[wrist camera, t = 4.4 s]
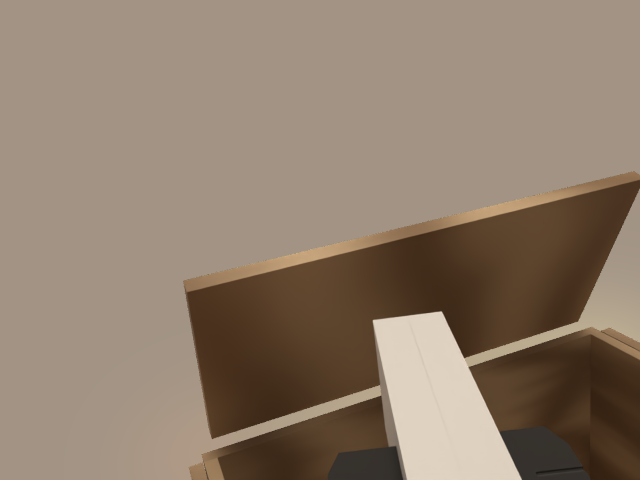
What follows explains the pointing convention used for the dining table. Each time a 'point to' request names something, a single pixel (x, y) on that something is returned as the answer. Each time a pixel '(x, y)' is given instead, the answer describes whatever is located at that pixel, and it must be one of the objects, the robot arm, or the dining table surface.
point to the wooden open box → (502, 402)
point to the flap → (396, 297)
